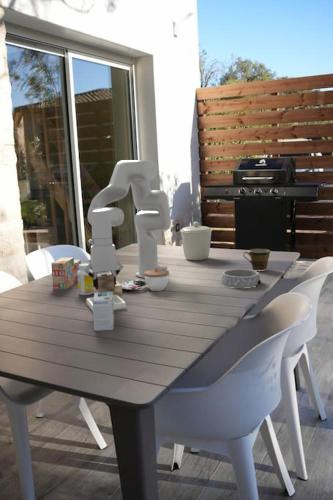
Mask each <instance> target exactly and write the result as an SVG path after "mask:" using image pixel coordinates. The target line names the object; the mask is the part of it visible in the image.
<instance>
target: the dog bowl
mask: <svg viewBox="0 0 333 500" xmlns="http://www.w3.org/2000/svg"><path fill="white" fill-rule="evenodd" d="M221 274H222V275H221V278H220V283H221V284H222V285H224V286H227V287H234V288H244V287H253V286H256V285H257V286H258V284H259V283H260V282H261V283H262V281H261V277H260V272H257V271H254V270H253V269H249V268H248V269H247V268H232V269H227V270H224V271H223V272H222V273H221ZM259 281H260V282H259ZM221 284H220V285H221ZM222 285H221V286H222ZM224 286H223V287H224ZM227 287H226V288H227ZM234 288H233V289H234Z"/></svg>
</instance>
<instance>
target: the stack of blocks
mask: <svg viewBox="0 0 333 500" xmlns="http://www.w3.org/2000/svg"><path fill="white" fill-rule="evenodd" d="M50 264H51V265H50V266H51V277H52V289H53V290H67V289H68V288H70V287H72V286H73V285H74V284H75V283H78V277H77V272H78V271H79V270H80V268H79V265H80V264H82V261H81V259H75V258H74V257H73V256H72V257H71V256H70V257H59V258H58V259H56V260H54V261H53V262H51V263H50Z"/></svg>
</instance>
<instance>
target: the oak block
mask: <svg viewBox="0 0 333 500" xmlns="http://www.w3.org/2000/svg"><path fill="white" fill-rule="evenodd" d="M110 292H113V295H118V296H119V297H120V298H121V299H122V300H124V299H123V285H122V284H121V282H119V281H117V280H116V284H115V287H114V291H110Z"/></svg>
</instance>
